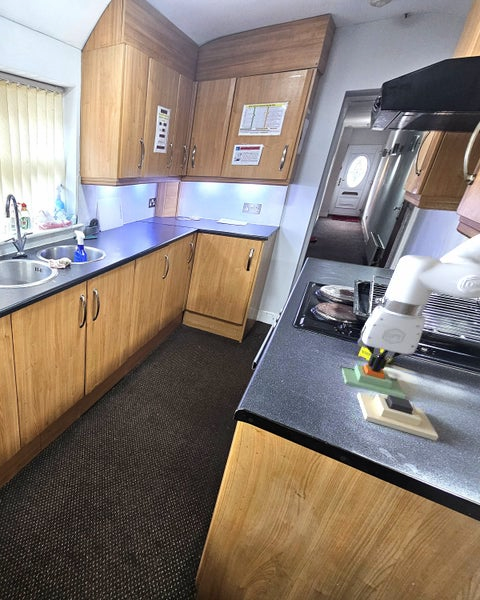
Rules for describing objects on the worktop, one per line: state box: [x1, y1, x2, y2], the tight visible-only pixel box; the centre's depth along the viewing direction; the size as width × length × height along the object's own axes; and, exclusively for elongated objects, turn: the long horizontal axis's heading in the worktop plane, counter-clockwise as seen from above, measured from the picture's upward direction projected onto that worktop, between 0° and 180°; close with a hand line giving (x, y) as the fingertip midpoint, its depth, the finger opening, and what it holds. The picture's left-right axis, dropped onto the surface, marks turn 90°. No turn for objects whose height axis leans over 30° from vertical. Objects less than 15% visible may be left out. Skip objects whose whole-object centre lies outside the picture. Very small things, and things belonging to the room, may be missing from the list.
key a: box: [386, 395, 413, 414], centre depth 75 cm, size 4×4×2 cm
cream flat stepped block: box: [357, 391, 439, 442], centre depth 76 cm, size 12×10×3 cm
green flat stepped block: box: [340, 363, 407, 399], centre depth 88 cm, size 12×10×3 cm
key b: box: [363, 364, 385, 379], centre depth 87 cm, size 4×4×2 cm
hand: (374, 369), depth 87 cm, fingers closed
